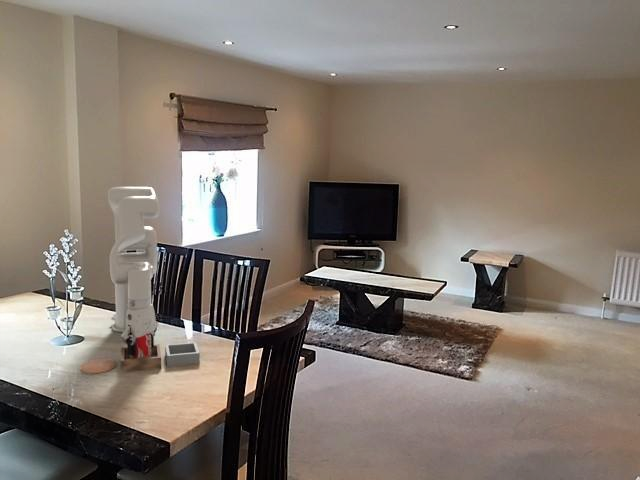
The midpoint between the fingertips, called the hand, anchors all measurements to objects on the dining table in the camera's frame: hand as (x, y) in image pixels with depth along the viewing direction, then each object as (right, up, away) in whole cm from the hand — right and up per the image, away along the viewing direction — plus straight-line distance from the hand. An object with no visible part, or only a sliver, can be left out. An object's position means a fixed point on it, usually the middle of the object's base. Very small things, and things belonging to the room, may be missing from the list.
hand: (140, 350), depth 189 cm
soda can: (0, -5, +1) cm, 5 cm away
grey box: (+13, -4, +5) cm, 15 cm away
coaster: (-13, -5, -4) cm, 15 cm away
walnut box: (0, -5, +1) cm, 5 cm away
